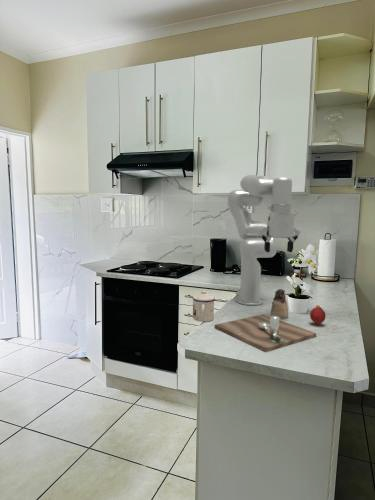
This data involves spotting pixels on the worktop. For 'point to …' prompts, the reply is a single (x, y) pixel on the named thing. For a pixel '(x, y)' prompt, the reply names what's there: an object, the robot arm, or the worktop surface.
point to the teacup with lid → (203, 307)
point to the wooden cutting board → (264, 332)
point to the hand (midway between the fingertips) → (278, 251)
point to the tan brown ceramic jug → (279, 305)
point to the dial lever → (271, 327)
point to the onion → (317, 315)
